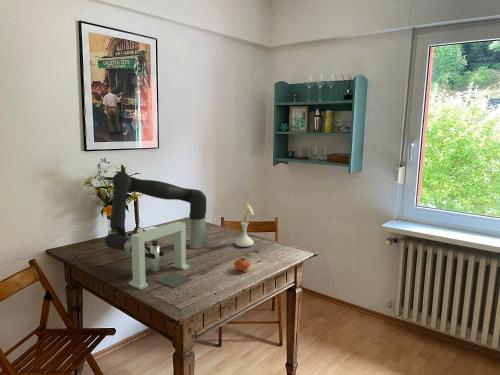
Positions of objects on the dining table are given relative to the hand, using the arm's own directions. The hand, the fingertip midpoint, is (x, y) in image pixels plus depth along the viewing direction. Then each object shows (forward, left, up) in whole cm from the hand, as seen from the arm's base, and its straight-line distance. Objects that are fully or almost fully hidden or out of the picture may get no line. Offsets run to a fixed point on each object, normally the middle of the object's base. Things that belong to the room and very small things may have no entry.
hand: (158, 255), depth 169 cm
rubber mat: (-5, +9, -10) cm, 14 cm away
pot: (-39, +10, -10) cm, 41 cm away
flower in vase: (-56, -24, -10) cm, 61 cm away
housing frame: (-1, +1, -10) cm, 10 cm away
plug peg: (+1, -2, -7) cm, 8 cm away
